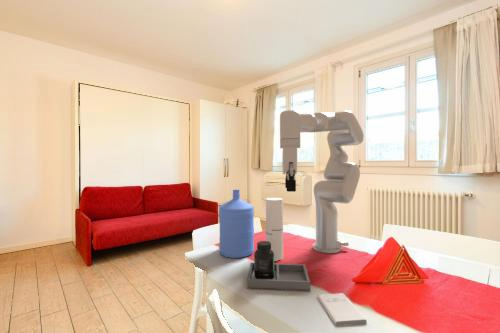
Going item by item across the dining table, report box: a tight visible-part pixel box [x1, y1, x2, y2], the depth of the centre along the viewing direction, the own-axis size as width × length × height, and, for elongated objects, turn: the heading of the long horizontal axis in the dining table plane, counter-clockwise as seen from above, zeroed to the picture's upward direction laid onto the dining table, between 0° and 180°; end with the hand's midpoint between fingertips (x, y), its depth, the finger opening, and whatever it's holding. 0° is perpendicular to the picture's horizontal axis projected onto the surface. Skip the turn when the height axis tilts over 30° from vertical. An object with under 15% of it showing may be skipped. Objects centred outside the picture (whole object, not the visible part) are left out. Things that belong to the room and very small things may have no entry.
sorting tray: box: [246, 262, 311, 292], centre depth 85 cm, size 20×13×3 cm, turn 85°
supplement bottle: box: [253, 240, 275, 279], centre depth 85 cm, size 7×7×12 cm
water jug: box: [218, 189, 255, 259], centre depth 110 cm, size 16×16×28 cm
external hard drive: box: [317, 292, 368, 326], centre depth 68 cm, size 2×8×12 cm
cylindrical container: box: [265, 197, 284, 262], centre depth 104 cm, size 7×7×25 cm
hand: (290, 189), depth 93 cm, fingers open, 9 cm apart
